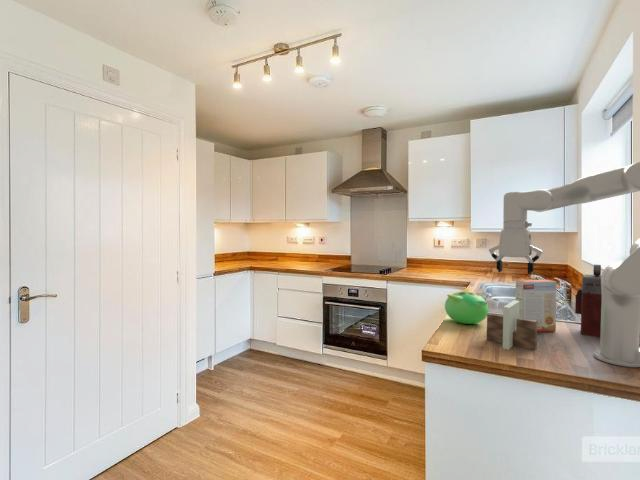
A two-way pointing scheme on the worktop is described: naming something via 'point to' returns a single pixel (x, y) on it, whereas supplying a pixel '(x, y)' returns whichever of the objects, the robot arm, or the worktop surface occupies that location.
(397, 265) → the worktop surface
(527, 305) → the cracker box
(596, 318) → the dark red canister
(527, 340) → the walnut board
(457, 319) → the toy bird
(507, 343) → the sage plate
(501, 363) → the worktop surface
